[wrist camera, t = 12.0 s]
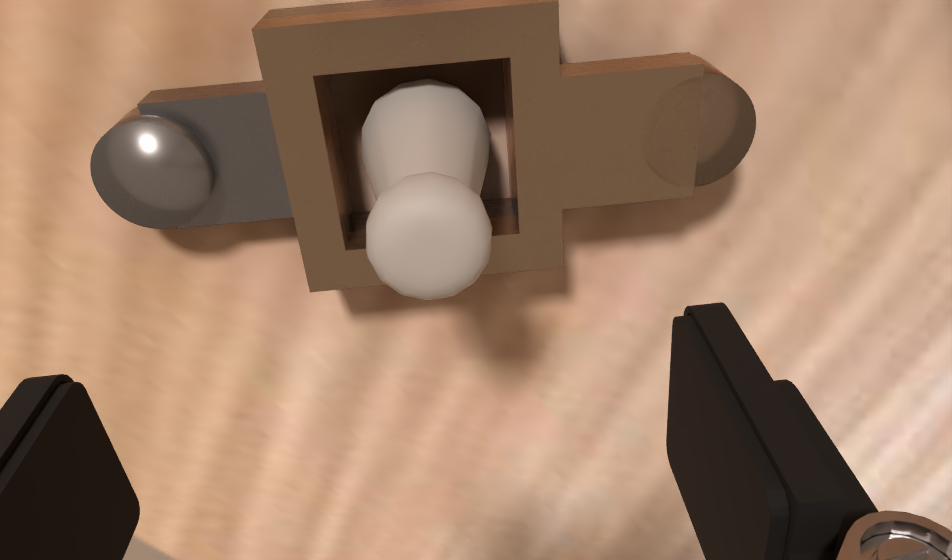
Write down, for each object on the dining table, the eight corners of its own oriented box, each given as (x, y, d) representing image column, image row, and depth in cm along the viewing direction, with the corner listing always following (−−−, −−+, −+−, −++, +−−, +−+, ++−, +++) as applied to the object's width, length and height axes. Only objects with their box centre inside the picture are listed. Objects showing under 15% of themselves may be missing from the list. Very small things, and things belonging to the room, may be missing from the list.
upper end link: (735, -33, 33) (772, -19, 29) (712, 213, 39) (741, 249, 35) (269, 10, 32) (251, 29, 29) (319, 252, 38) (310, 292, 35)
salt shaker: (412, 204, 37) (409, 357, 26) (339, 114, 35) (300, 240, 24) (509, 139, 36) (550, 271, 25) (440, 40, 33) (450, 137, 22)
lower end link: (543, -16, 33) (554, -4, 30) (550, 229, 39) (560, 257, 36) (73, 28, 32) (43, 43, 30) (154, 268, 38) (135, 298, 36)
